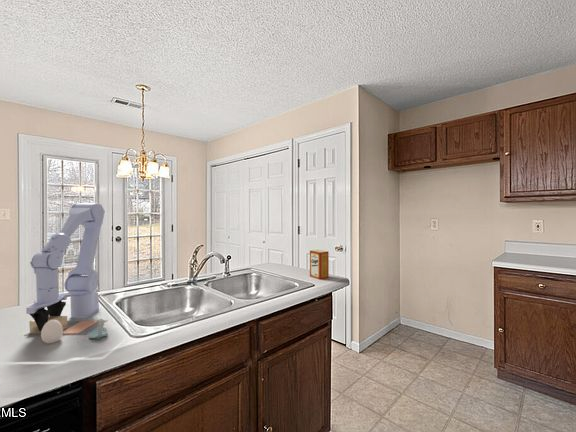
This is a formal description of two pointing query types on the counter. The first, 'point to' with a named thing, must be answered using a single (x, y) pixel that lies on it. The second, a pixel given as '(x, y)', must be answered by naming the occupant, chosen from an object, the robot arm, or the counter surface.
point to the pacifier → (98, 331)
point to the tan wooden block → (59, 318)
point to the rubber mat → (69, 324)
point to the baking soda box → (319, 264)
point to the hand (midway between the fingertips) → (48, 327)
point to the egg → (51, 331)
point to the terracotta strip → (79, 327)
